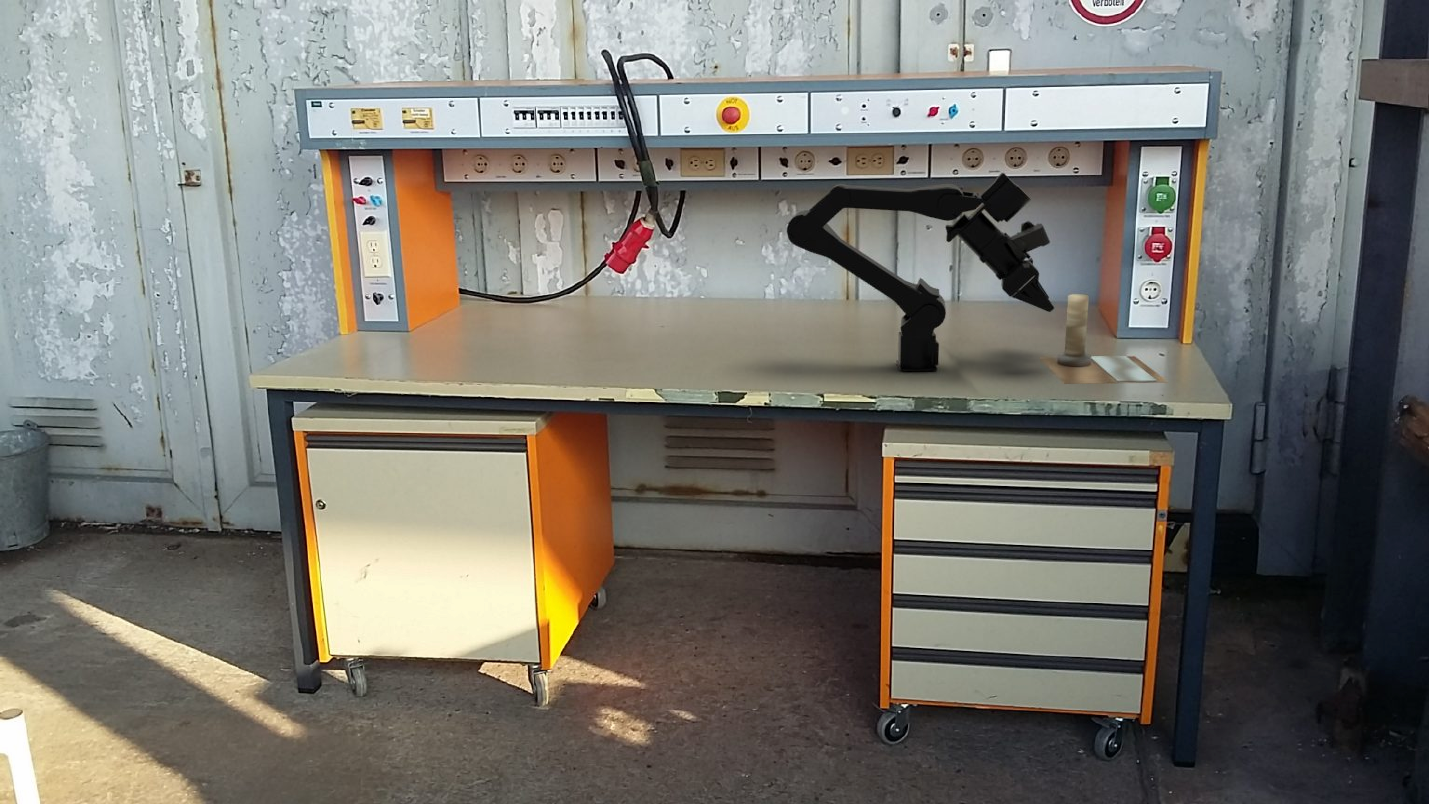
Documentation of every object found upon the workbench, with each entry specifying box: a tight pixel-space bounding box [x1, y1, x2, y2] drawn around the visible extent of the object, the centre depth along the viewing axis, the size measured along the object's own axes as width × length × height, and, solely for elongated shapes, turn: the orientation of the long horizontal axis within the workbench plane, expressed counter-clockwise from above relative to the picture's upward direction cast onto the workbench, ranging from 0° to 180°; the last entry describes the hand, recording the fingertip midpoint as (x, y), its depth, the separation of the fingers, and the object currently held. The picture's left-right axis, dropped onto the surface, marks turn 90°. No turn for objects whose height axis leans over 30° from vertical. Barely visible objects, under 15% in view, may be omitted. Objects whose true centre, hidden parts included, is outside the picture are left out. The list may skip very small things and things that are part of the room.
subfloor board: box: [1039, 355, 1169, 385], centre depth 211 cm, size 17×18×1 cm
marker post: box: [1057, 293, 1092, 367], centre depth 213 cm, size 6×6×12 cm
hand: (1049, 304), depth 213 cm, fingers open, 9 cm apart
